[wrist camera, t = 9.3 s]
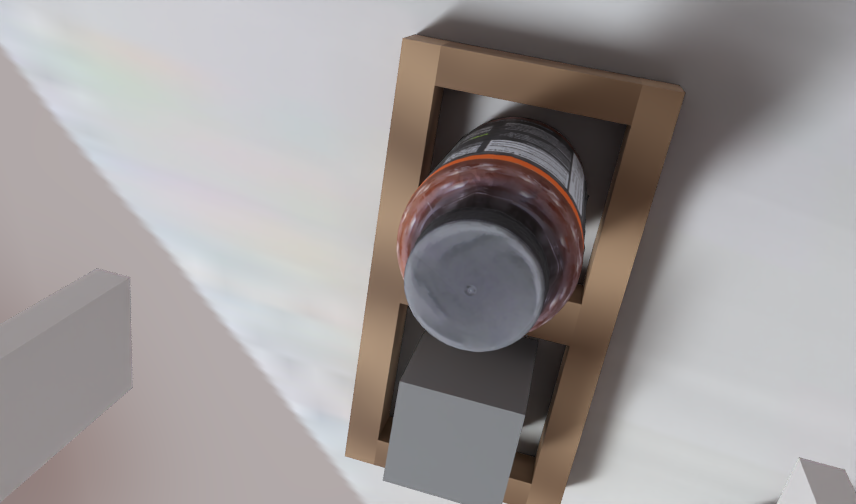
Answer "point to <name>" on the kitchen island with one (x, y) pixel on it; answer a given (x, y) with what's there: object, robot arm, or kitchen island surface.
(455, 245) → the supplement bottle
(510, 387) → the block
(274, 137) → the kitchen island surface
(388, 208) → the brown wooden frame
